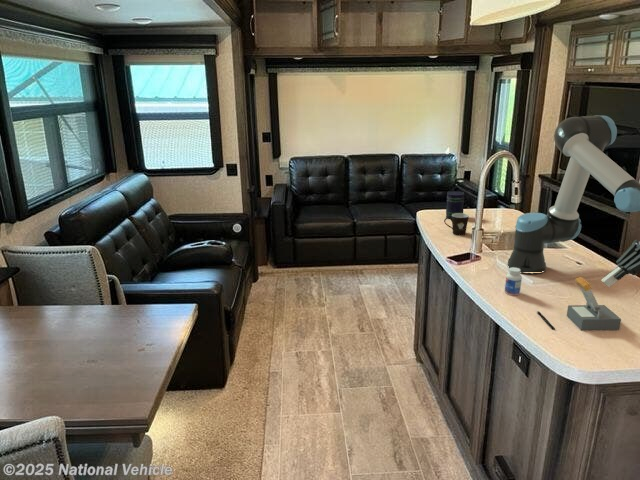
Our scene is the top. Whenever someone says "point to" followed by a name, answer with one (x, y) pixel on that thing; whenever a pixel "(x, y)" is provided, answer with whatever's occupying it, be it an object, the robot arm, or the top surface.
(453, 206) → the storage jar
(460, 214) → the coffee mug
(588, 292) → the lever
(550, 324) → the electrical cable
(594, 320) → the switch box
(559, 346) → the top surface
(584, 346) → the top surface
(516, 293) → the pill bottle
